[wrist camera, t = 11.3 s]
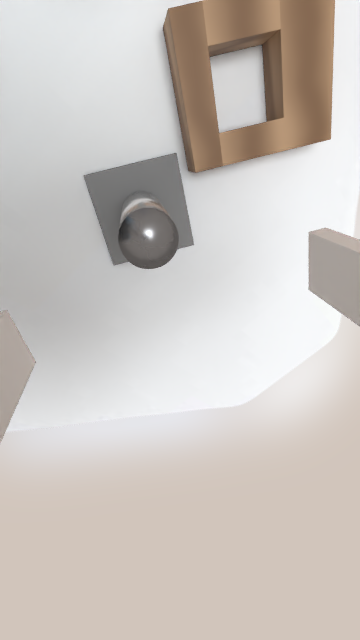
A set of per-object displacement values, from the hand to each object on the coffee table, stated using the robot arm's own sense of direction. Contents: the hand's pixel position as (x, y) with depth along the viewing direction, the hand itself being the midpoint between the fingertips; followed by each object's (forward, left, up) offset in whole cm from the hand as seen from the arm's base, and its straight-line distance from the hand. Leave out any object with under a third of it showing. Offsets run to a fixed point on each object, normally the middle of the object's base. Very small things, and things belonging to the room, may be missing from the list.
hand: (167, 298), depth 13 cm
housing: (+13, +9, -25) cm, 29 cm away
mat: (0, 0, -25) cm, 25 cm away
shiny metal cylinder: (0, 0, -24) cm, 24 cm away
